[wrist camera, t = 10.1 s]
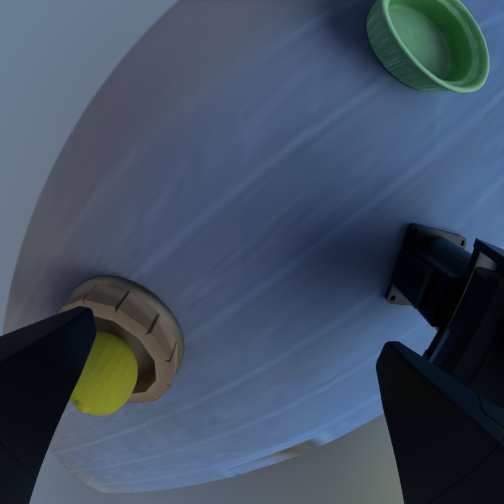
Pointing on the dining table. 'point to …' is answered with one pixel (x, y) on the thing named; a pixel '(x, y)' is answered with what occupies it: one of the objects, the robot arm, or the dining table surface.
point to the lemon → (106, 376)
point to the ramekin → (429, 44)
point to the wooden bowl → (135, 329)
